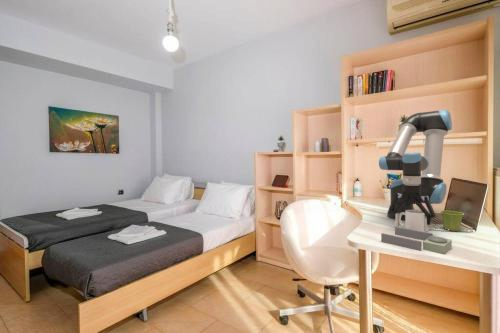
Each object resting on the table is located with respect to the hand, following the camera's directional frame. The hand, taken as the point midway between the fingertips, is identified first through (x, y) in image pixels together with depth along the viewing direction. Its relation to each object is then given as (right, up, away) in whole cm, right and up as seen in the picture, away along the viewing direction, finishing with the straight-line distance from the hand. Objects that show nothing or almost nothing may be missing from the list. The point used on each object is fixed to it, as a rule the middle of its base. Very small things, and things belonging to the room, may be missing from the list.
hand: (411, 228), depth 126 cm
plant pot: (+22, -1, +3) cm, 22 cm away
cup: (0, -2, 0) cm, 2 cm away
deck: (-7, -3, -17) cm, 18 cm away
